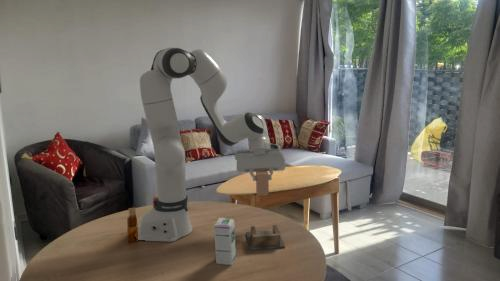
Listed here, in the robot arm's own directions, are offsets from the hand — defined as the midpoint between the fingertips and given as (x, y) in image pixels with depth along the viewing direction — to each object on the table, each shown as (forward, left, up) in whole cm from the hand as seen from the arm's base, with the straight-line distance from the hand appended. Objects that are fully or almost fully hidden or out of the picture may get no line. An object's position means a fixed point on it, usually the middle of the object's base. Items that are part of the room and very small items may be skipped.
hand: (262, 180), depth 156 cm
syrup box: (-16, -26, -19) cm, 36 cm away
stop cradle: (-1, -14, -19) cm, 24 cm away
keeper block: (0, +1, -6) cm, 6 cm away
